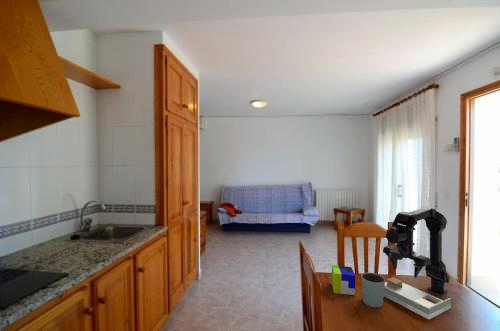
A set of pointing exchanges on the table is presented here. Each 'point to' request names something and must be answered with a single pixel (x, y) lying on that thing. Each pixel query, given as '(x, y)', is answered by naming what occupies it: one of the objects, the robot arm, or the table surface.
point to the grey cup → (373, 289)
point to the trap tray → (417, 300)
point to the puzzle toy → (343, 280)
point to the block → (394, 283)
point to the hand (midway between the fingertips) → (405, 273)
